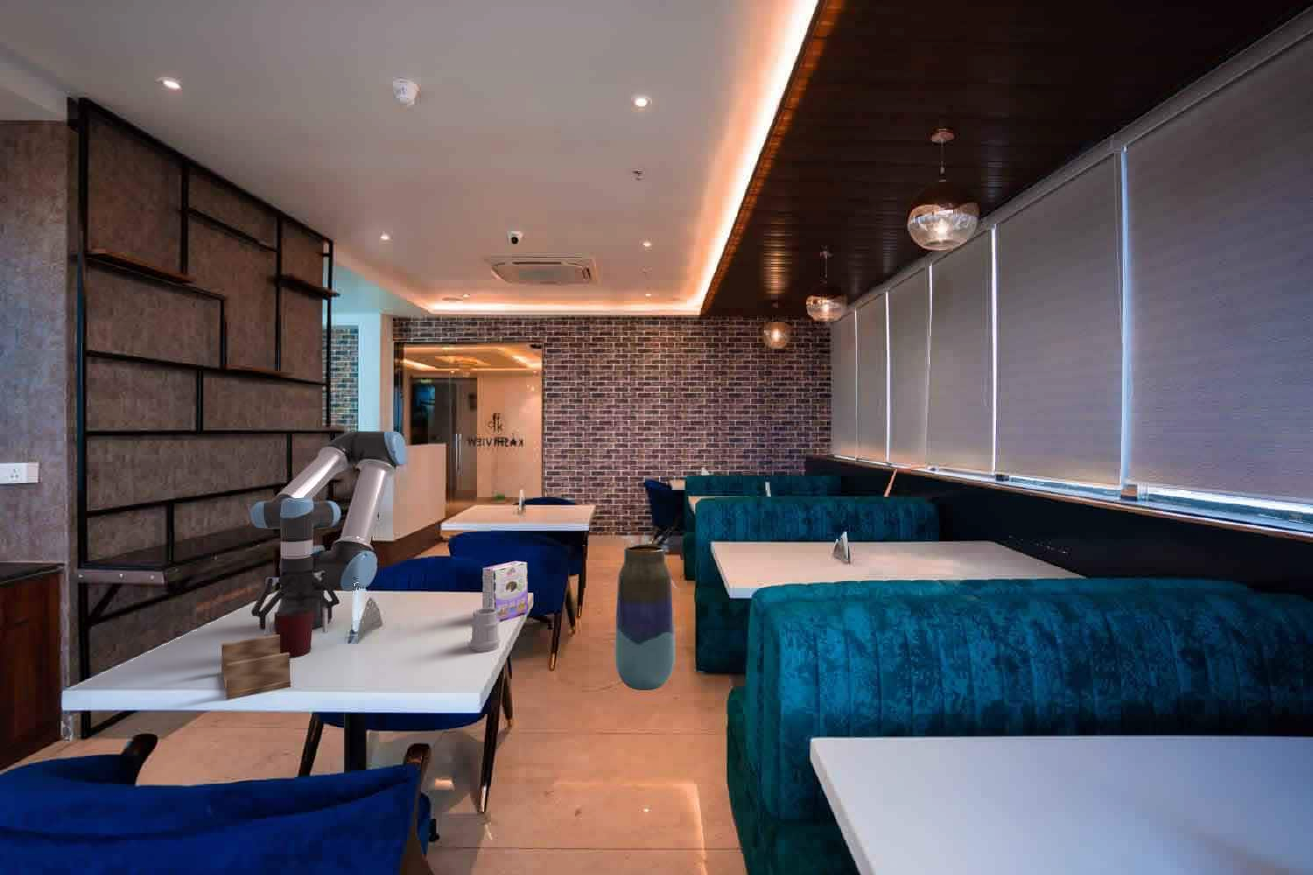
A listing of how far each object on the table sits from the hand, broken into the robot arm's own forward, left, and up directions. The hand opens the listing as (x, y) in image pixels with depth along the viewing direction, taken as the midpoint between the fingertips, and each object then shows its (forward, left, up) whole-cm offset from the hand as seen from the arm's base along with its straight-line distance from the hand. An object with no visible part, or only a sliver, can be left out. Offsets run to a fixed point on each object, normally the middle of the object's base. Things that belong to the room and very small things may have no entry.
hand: (296, 636), depth 169 cm
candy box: (-57, +4, -4) cm, 58 cm away
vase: (-60, +74, -4) cm, 95 cm away
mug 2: (-42, +26, -4) cm, 50 cm away
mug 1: (0, 0, -4) cm, 4 cm away
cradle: (+11, +16, -4) cm, 19 cm away
